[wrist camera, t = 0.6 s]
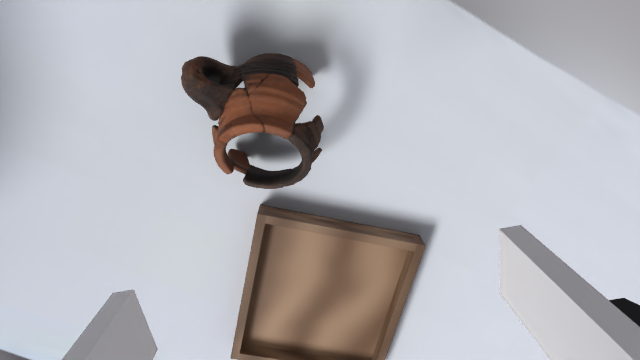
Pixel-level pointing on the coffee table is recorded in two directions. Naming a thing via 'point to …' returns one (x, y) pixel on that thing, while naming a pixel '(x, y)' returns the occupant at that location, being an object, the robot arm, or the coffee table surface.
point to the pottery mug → (255, 111)
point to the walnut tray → (323, 288)
